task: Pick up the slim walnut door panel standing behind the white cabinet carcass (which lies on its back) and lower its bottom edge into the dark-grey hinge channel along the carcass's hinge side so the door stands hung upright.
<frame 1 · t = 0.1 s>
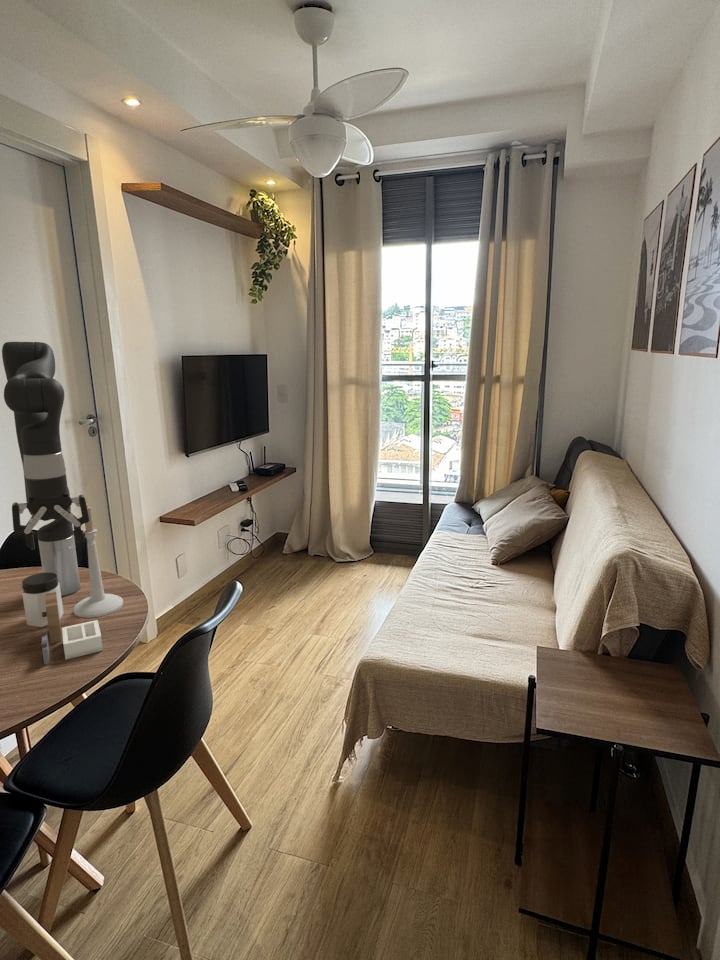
hand: (55, 545, 117), 29 cm above the table, fingers open, 8 cm apart
jar: (45, 620, 144), on the table
candlestick: (98, 607, 151), on the table
door: (55, 635, 136), on the table
cabinet: (83, 646, 131), on the table
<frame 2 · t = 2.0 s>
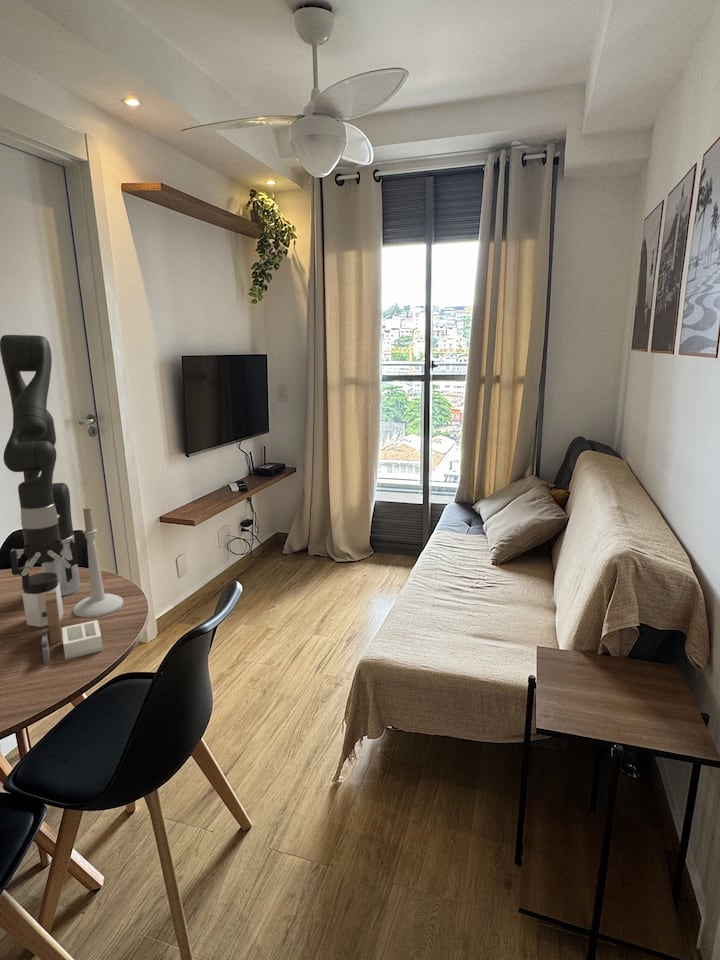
hand: (48, 584, 133), 14 cm above the table, fingers open, 8 cm apart
nothing on the table moved.
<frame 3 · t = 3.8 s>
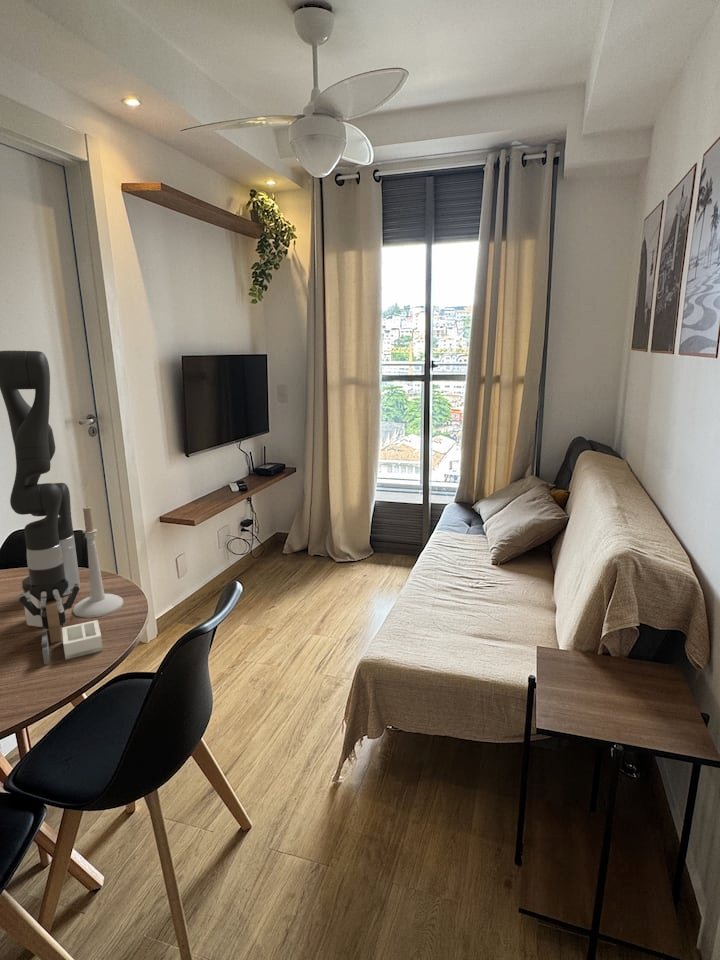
hand: (54, 625, 135), 3 cm above the table, fingers closed on door, 2 cm apart
door: (55, 634, 136), on the table, touching gripper
everything else where it was.
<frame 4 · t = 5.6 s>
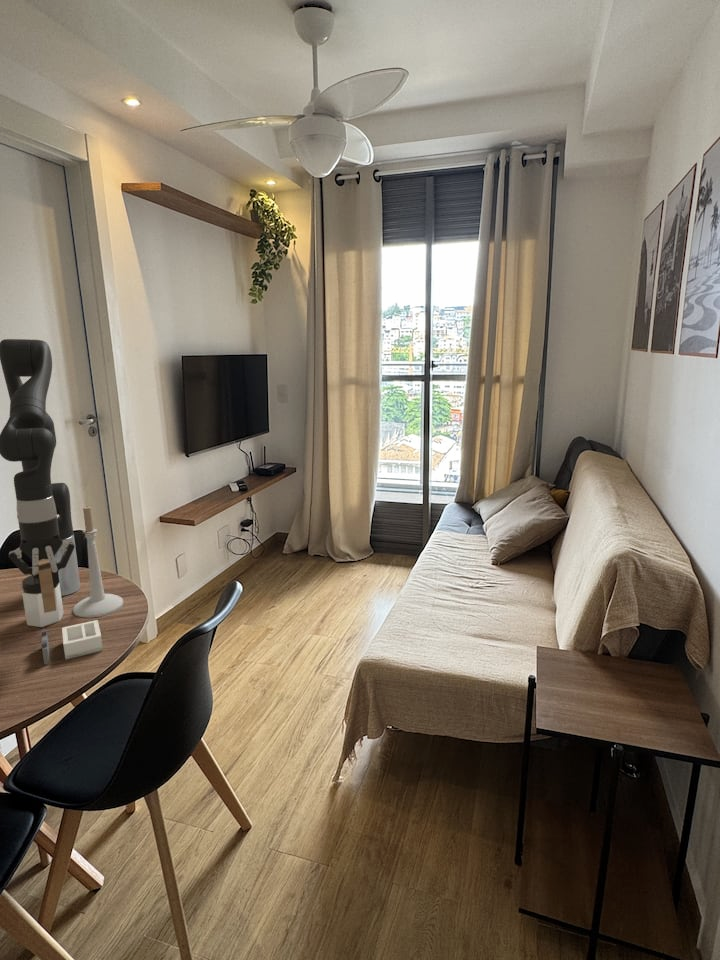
hand: (47, 587, 124), 17 cm above the table, fingers closed on door, 2 cm apart
door: (50, 604, 125), point 13 cm above the table, touching gripper
everything else where it was.
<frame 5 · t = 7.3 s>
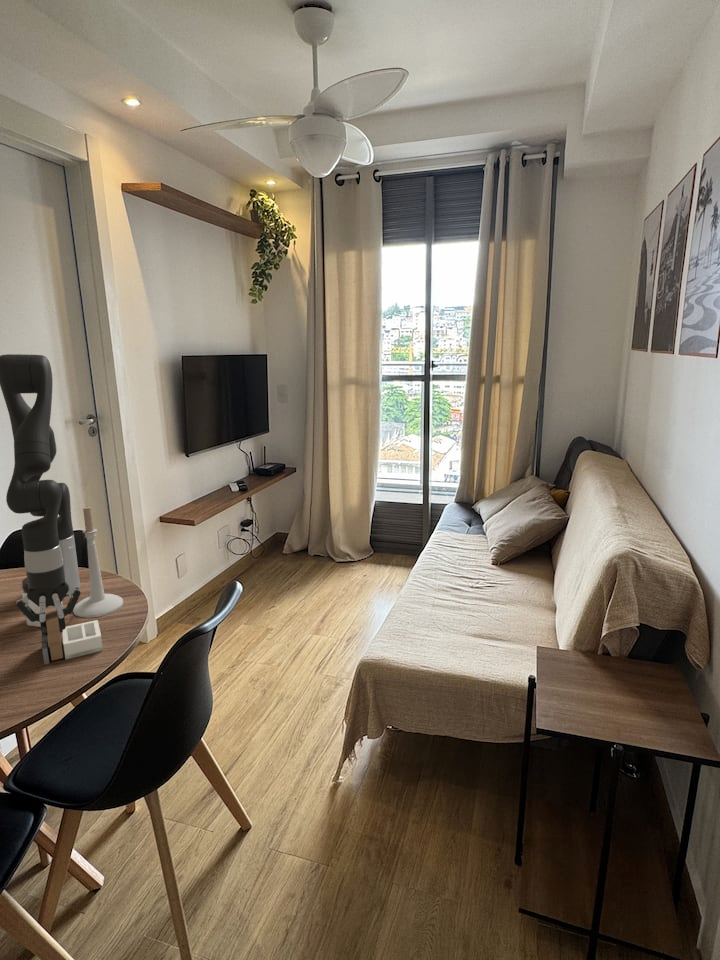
hand: (54, 632, 127), 5 cm above the table, fingers closed on door, 2 cm apart
door: (56, 651, 128), on the table, touching gripper
everything else where it was.
when the fingers open (5 cm above the table, at t = 7.7 s): door stays where it is, on the table.
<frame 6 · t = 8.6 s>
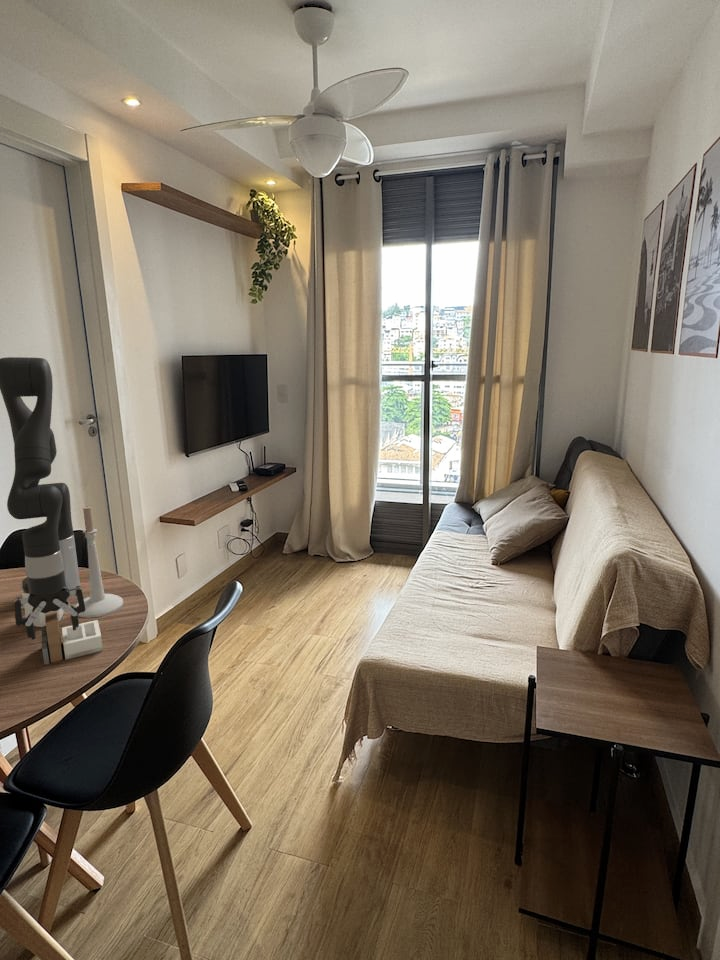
hand: (54, 633, 127), 5 cm above the table, fingers open, 8 cm apart
door: (56, 652, 128), on the table
everything else where it was.
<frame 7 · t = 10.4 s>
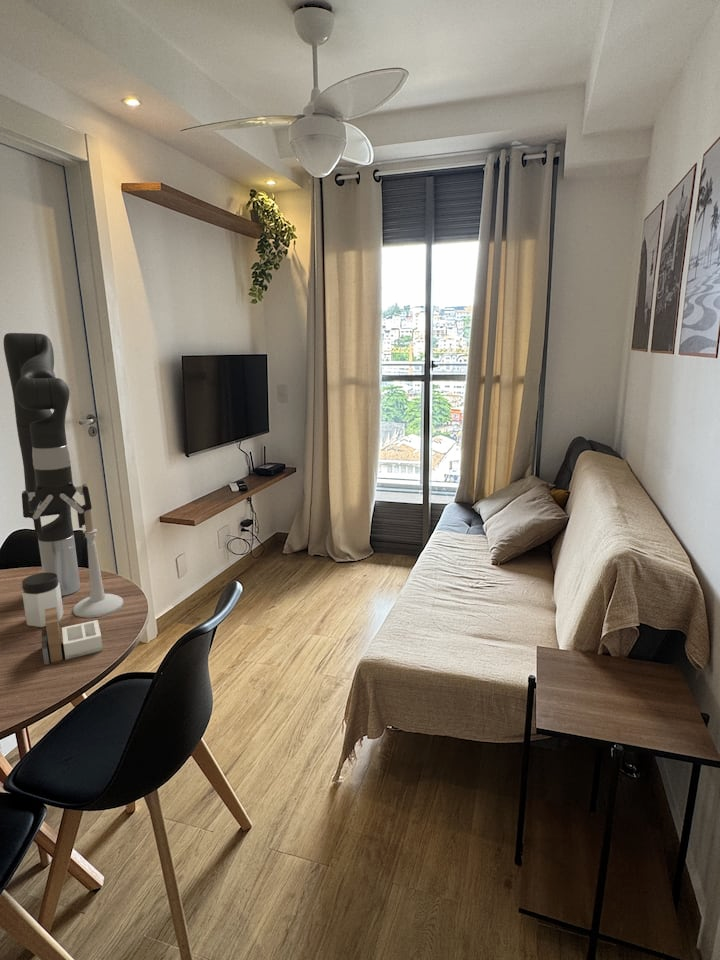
hand: (60, 529, 128), 29 cm above the table, fingers open, 8 cm apart
nothing on the table moved.
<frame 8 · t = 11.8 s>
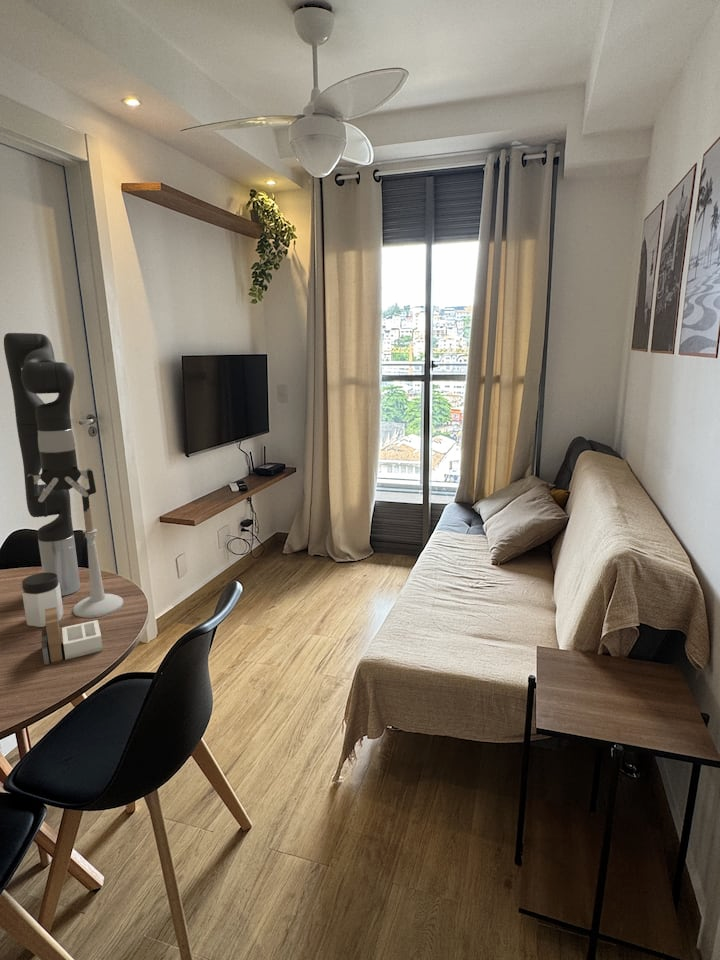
hand: (65, 513, 130), 32 cm above the table, fingers open, 8 cm apart
nothing on the table moved.
at the end: door 0.1 cm from the target spot, on the table; door tilted 0°; the gripper is holding nothing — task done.
